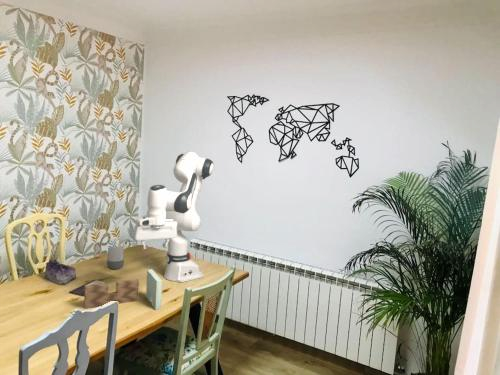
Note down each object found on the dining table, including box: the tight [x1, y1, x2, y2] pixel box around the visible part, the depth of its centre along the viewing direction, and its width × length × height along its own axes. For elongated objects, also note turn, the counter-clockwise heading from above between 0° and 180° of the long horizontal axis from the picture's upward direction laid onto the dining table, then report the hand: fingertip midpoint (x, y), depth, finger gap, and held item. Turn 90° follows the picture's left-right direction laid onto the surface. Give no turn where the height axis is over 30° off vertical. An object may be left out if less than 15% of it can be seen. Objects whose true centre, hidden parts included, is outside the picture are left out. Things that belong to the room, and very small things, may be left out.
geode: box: [44, 259, 77, 285], centre depth 202 cm, size 20×12×10 cm, turn 63°
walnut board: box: [83, 278, 140, 310], centre depth 178 cm, size 24×2×10 cm, turn 121°
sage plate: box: [145, 268, 163, 311], centre depth 182 cm, size 16×2×14 cm, turn 31°
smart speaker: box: [106, 245, 125, 271], centre depth 223 cm, size 10×9×14 cm
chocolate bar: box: [68, 279, 107, 298], centre depth 194 cm, size 9×1×18 cm
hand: (154, 248), depth 179 cm, fingers open, 8 cm apart
